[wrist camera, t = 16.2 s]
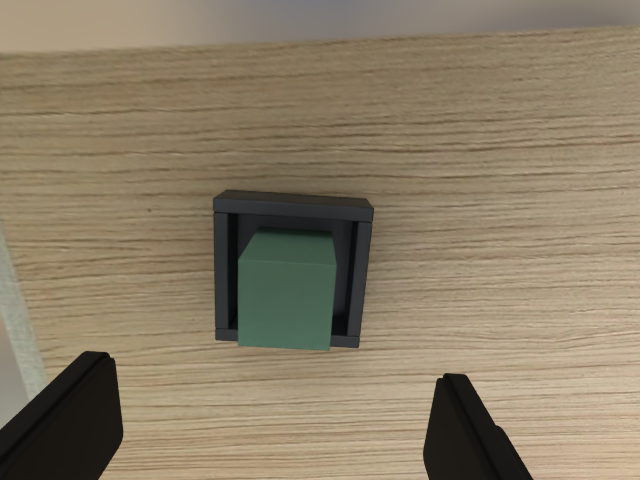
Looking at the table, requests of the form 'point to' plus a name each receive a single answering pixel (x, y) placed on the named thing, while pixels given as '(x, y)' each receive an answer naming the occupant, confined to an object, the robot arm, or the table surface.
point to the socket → (304, 214)
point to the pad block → (287, 289)
